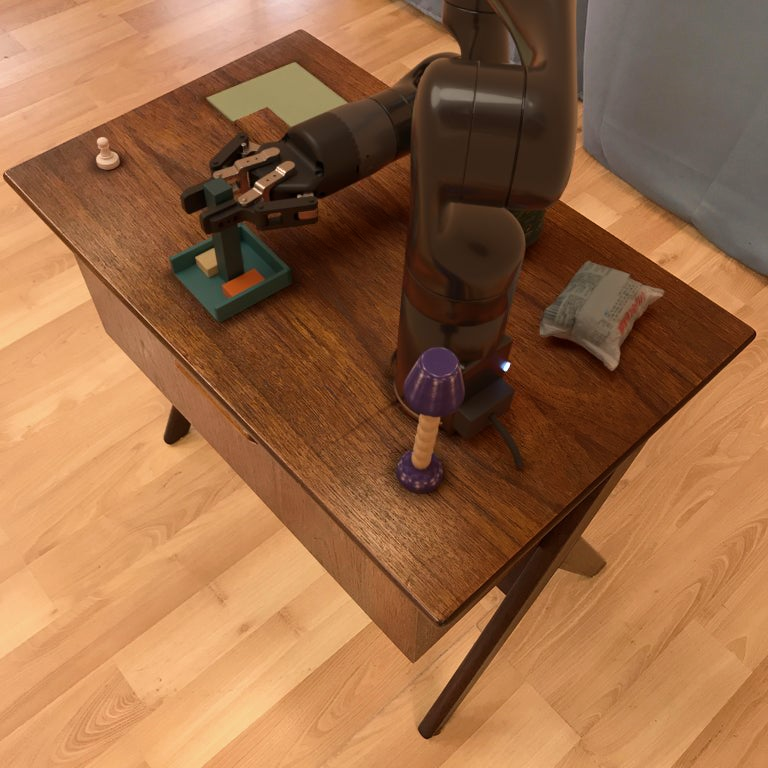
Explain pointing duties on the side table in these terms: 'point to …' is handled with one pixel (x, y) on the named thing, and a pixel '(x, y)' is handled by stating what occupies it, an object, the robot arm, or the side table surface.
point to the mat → (278, 96)
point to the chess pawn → (106, 155)
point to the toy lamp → (429, 415)
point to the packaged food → (598, 310)
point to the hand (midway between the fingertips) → (193, 214)
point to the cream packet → (207, 262)
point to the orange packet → (241, 283)
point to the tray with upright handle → (230, 263)
